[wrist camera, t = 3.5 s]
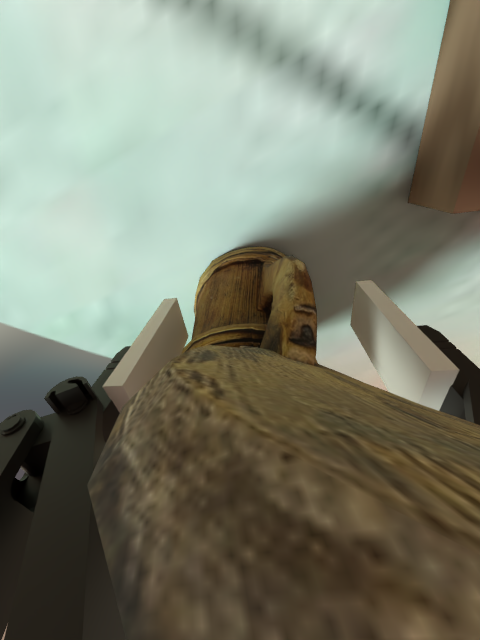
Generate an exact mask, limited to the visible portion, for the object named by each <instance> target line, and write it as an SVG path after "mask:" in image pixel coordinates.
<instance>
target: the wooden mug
mask: <svg viewBox="0 0 480 640" xmlns="http://www.w3.org/2000/svg"><path fill="white" fill-rule="evenodd" d="M194 313H195V323H194V329H193V334H192V340H191V341H190V342H189V343H188V344H187V345H186V346H185V347H184V348H183V351H182V353H181V355H179V356H177V357H175V358H173V359H172V360H170V361H169V362H168V363H167V364H166V365H165V366H164V367H163V368H162V369H161V370H160V371H159V372H158V373H157V374H156V375H155V376H154V377H153V378H152V379H151V380H150V381H148V382H147V383H146V384H145V385H144V386H143V387H142V388H141V389H140V390H139V391H138V392H137V393H136V394H135V395H134V396H133V397H132V398H131V399H130V400H129V401H128V402H127V403H126V404H125V405H124V406H123V407H122V409H121V411H120V414H119V416H118V418H117V420H116V422H115V425H114V427H113V429H112V431H111V433H110V436H109V438H108V440H107V442H106V445H105V447H104V449H103V451H102V453H101V456H100V458H99V460H98V462H97V464H96V467H95V469H94V471H93V473H92V476H91V478H90V480H89V482H88V484H87V486H88V490H89V494H90V498H91V502H92V506H93V510H94V514H95V518H96V522H97V526H98V530H99V534H100V538H101V542H102V546H103V550H104V554H105V557H106V561H107V565H108V569H109V573H110V577H111V581H112V585H113V589H114V593H115V597H116V601H117V605H118V609H119V613H120V617H121V621H122V625H123V629H124V633H125V636H126V640H480V425H478V424H475V423H472V422H469V421H466V420H464V419H461V418H458V417H455V416H452V415H449V414H446V413H443V412H441V411H438V410H435V409H432V408H429V407H426V406H423V405H421V404H418V403H416V402H413V401H410V400H408V399H405V398H403V397H400V396H398V395H395V394H392V393H390V392H387V391H385V390H382V389H379V388H376V387H374V386H371V385H368V384H366V383H363V382H361V381H359V380H356V379H354V378H352V377H349V376H347V375H344V374H342V373H340V372H337V371H335V370H332V369H329V368H327V367H324V366H322V365H319V364H318V363H317V360H316V358H315V357H316V343H317V310H316V304H315V299H314V293H313V288H312V282H311V279H310V277H309V274H308V271H307V268H306V266H305V264H304V263H303V262H301V261H300V260H298V259H297V258H295V257H294V256H293V255H291V256H286V255H285V254H283V253H281V252H279V251H277V250H275V249H272V248H267V247H248V248H243V249H239V250H235V251H232V252H228V253H226V254H224V255H222V256H220V257H218V258H216V259H215V260H213V261H212V262H211V264H210V265H209V266H208V268H207V269H206V270H205V272H204V273H203V274H202V276H201V277H200V280H199V284H198V288H197V292H196V296H195V305H194Z"/></svg>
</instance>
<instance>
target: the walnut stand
mask: <svg viewBox="0 0 480 640" xmlns="http://www.w3.org/2000/svg"><path fill="white" fill-rule="evenodd" d="M408 203H412V204H416V205H420V206H424V207H428V208H432V209H436V210H440V211H444V212H448V213H452V214H454V213H463V212H471V211H479V210H480V0H450V5H449V9H448V14H447V19H446V24H445V28H444V33H443V38H442V43H441V47H440V52H439V57H438V62H437V66H436V71H435V76H434V81H433V85H432V90H431V95H430V100H429V104H428V109H427V114H426V119H425V123H424V128H423V133H422V138H421V142H420V147H419V152H418V157H417V161H416V166H415V171H414V176H413V180H412V185H411V190H410V195H409V199H408Z"/></svg>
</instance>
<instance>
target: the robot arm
mask: <svg viewBox="0 0 480 640" xmlns="http://www.w3.org/2000/svg"><path fill="white" fill-rule="evenodd" d="M350 325H351V327H352V328H353V330H354V332H355V334H356V335H357V337H358V339H359V341H360V342H361V344H362V346H363V348H364V349H365V351H366V353H367V355H368V356H369V358H370V360H371V362H372V363H373V365H374V367H375V369H376V370H377V372H378V374H379V375H380V377H381V379H382V381H383V382H384V384H385V386H386V388H387V389H388V391H389V392H390V393H392V394H395V395H398V396H400V397H403V398H405V399H408V400H410V401H413V402H416V403H418V404H421V405H423V406H426V407H429V408H432V409H435V410H438V411H441V412H443V413H446V414H449V415H452V416H455V417H458V418H461V419H464V420H466V421H469V422H472V423H475V424H478V425H480V369H479V368H478V367H477V366H476V365H475V364H474V363H473V362H472V361H471V360H469V359H468V358H467V357H466V356H465V355H464V354H463V353H462V352H461V351H460V350H459V349H456V347H455V346H454V345H453V344H452V343H451V342H449V340H448V339H447V338H446V337H444V336H443V335H442V334H441V333H440V332H439V331H437V330H435V329H433V328H431V327H429V326H427V325H423V326H416V325H415V324H414V323H413V322H412V321H411V320H410V319H409V318H408V317H407V316H406V315H405V314H404V313H403V312H402V311H401V310H400V309H399V308H398V307H397V306H396V305H395V304H394V303H393V302H392V301H391V300H390V299H389V298H388V296H387V295H386V294H385V293H384V292H383V291H382V290H381V289H380V288H379V287H378V286H377V285H376V284H375V283H374V282H373V281H372V280H366V281H356V285H355V293H354V301H353V308H352V316H351V324H350ZM187 339H188V333H187V330H186V327H185V324H184V320H183V317H182V314H181V310H180V307H179V304H178V300H177V298H172V299H164V300H163V302H162V303H161V304H160V306H159V307H158V309H157V310H156V311H155V313H154V314H153V316H152V317H151V319H150V320H149V321H148V323H147V324H146V326H145V327H144V328H143V330H142V331H141V333H140V334H139V336H138V337H137V338H136V340H135V341H134V343H133V344H132V345H131V346H127V347H125V348H123V349H122V350H121V351H120V352H118V353H117V354H116V355H115V357H114V358H113V359H112V361H111V363H109V365H108V366H107V367H106V370H104V371H103V373H102V374H101V375H100V376H99V378H98V379H97V381H96V382H95V383H94V384H93V386H92V387H91V386H90V384H89V383H88V381H87V380H86V379H85V378H84V377H73V378H69V379H67V380H65V381H62V382H60V383H59V384H58V385H56V386H55V387H53V388H52V389H51V390H50V391H49V392H48V393H47V395H46V396H45V398H44V399H45V400H46V401H47V403H48V404H49V405H50V406H51V408H52V409H53V410H54V411H55V412H56V413H53V414H50V415H47V416H43V417H39V416H38V415H37V413H36V412H35V411H32V410H23V411H21V412H18V413H15V414H13V415H12V416H9V417H8V418H6V419H5V420H4V421H3V422H1V423H0V640H1V639H2V637H3V634H4V632H5V629H6V626H7V630H6V634H5V638H4V640H126V636H125V633H124V629H123V625H122V621H121V617H120V613H119V609H118V605H117V601H116V597H115V593H114V589H113V585H112V581H111V577H110V573H109V569H108V565H107V561H106V557H105V554H104V550H103V546H102V542H101V538H100V534H99V530H98V526H97V522H96V518H95V514H94V510H93V506H92V502H91V498H90V494H89V490H88V486H87V484H88V482H89V480H90V478H91V476H92V473H93V471H94V469H95V467H96V464H97V462H98V460H99V458H100V456H101V453H102V451H103V449H104V447H105V445H106V442H107V440H108V438H109V436H110V433H111V431H112V429H113V427H114V425H115V422H116V420H117V418H118V416H119V414H120V411H121V409H122V407H123V406H124V405H125V404H126V403H127V402H128V401H129V400H130V399H131V398H132V397H133V396H134V395H135V394H136V393H137V392H138V391H139V390H140V389H141V388H142V387H143V386H144V385H145V384H146V383H147V382H148V381H150V380H151V379H152V378H153V377H154V376H155V375H156V374H157V373H158V372H159V371H160V370H161V369H162V368H163V367H164V366H165V365H166V364H167V363H168V362H169V361H170V360H172V359H173V358H175V357H177V356H179V355H181V353H182V351H183V348H184V346H185V343H186V341H187ZM20 468H21V469H22V470H24V471H25V474H24V476H23V477H22V478H21V480H17V479H16V478H15V476H16V474H17V472H18V471H19V469H20ZM7 624H8V625H7Z"/></svg>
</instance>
